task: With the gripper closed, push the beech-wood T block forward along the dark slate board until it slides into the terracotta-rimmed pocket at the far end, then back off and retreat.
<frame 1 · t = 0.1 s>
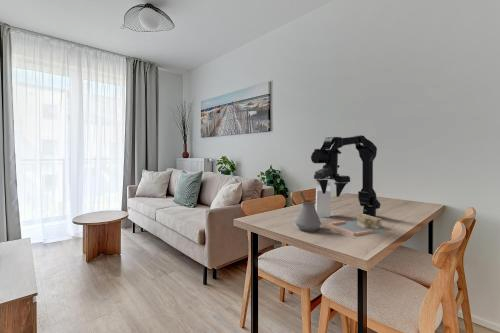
hand: (330, 195, 119), 15 cm above the table, fingers open, 9 cm apart
board: (356, 229, 113), on the table
t block: (369, 225, 117), point 1 cm above the table, touching board
milk carton: (322, 217, 135), on the table
coffee pot: (305, 226, 119), on the table
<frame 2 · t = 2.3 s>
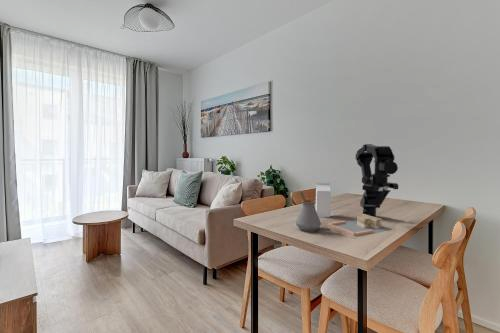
hand: (379, 204, 119), 10 cm above the table, fingers closed
nothing on the table moved.
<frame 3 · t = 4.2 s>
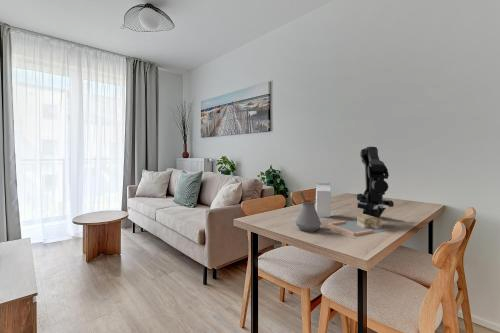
hand: (375, 222, 118), 2 cm above the table, fingers closed
t block: (369, 225, 117), point 1 cm above the table, touching board, gripper
everything else where it was.
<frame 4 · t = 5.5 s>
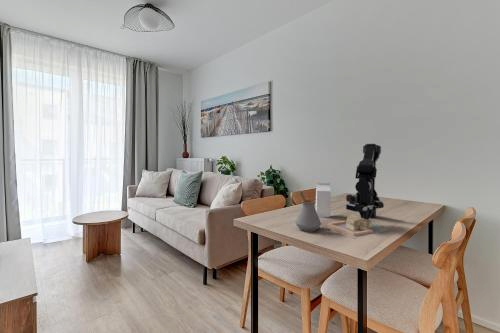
hand: (364, 223, 115), 2 cm above the table, fingers closed
t block: (359, 227, 113), point 1 cm above the table, touching board, gripper
everything else where it was.
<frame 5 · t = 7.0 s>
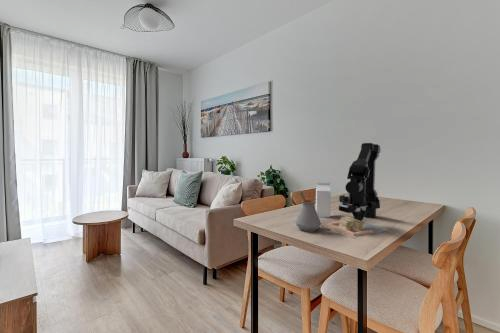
hand: (357, 224, 113), 2 cm above the table, fingers closed
t block: (352, 228, 111), point 1 cm above the table, touching board, gripper
everything else where it was.
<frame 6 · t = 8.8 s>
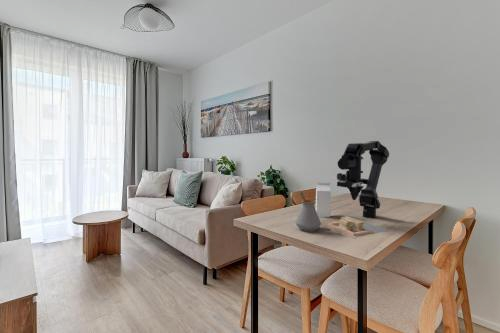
hand: (354, 199, 123), 12 cm above the table, fingers closed
t block: (352, 228, 111), point 1 cm above the table, touching board
everything else where it was.
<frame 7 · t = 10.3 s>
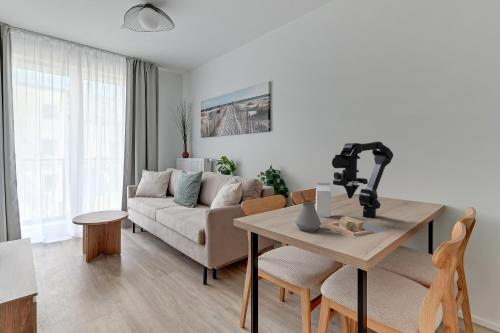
hand: (349, 198, 125), 12 cm above the table, fingers closed
nothing on the table moved.
at the end: t block 0.3 cm from the target spot, point 1.0 cm above the table; t block tilted 0° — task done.
